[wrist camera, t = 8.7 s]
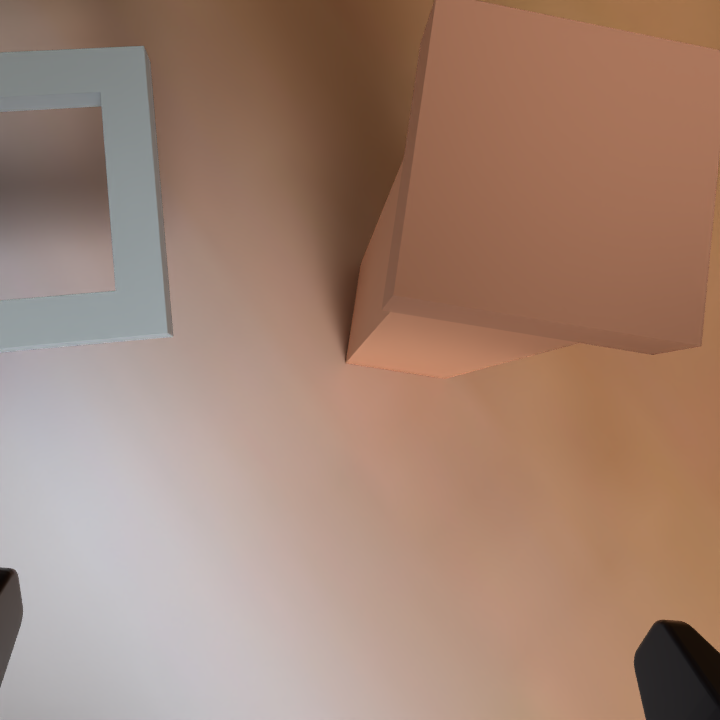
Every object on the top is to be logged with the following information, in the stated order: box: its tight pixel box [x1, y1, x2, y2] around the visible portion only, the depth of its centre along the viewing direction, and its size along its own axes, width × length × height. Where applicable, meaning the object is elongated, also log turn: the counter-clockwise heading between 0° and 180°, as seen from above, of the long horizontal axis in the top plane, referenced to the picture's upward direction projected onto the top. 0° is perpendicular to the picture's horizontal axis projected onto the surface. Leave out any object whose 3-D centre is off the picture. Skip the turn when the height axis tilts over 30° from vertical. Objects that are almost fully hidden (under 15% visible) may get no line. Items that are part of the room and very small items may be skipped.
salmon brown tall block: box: [346, 0, 720, 379], centre depth 16 cm, size 4×4×14 cm
